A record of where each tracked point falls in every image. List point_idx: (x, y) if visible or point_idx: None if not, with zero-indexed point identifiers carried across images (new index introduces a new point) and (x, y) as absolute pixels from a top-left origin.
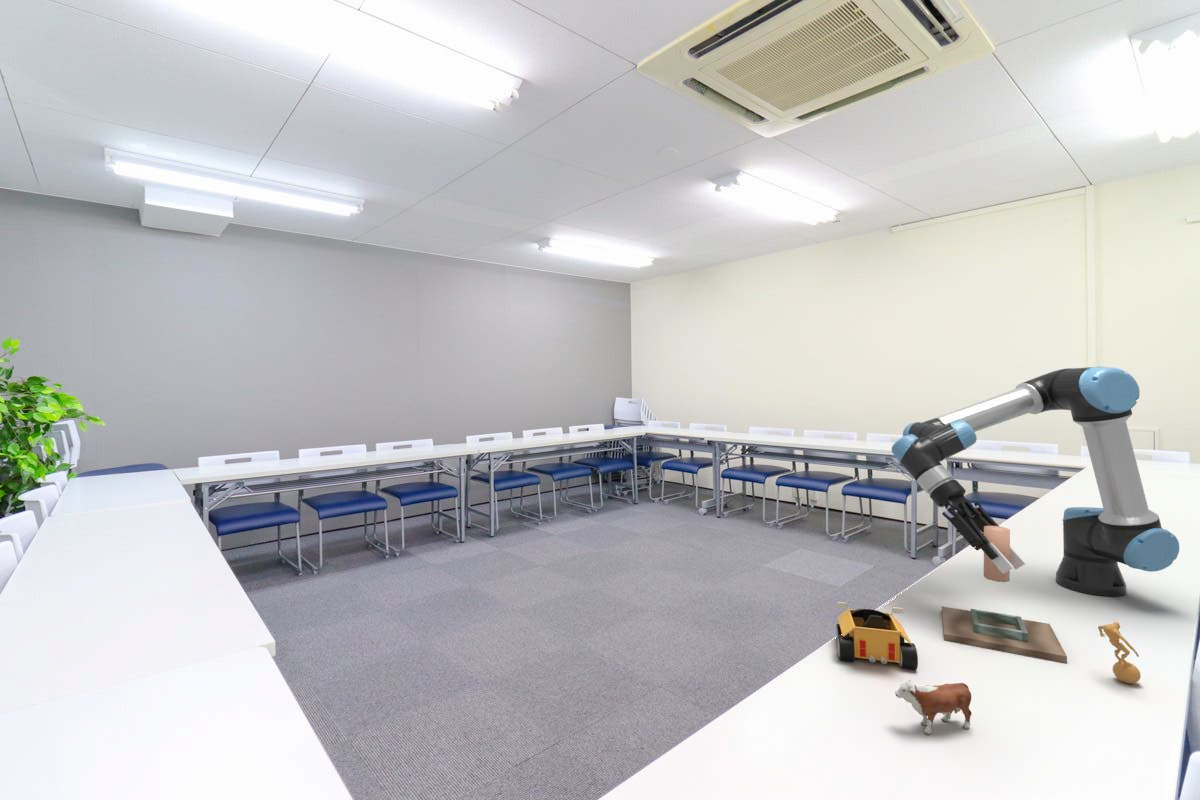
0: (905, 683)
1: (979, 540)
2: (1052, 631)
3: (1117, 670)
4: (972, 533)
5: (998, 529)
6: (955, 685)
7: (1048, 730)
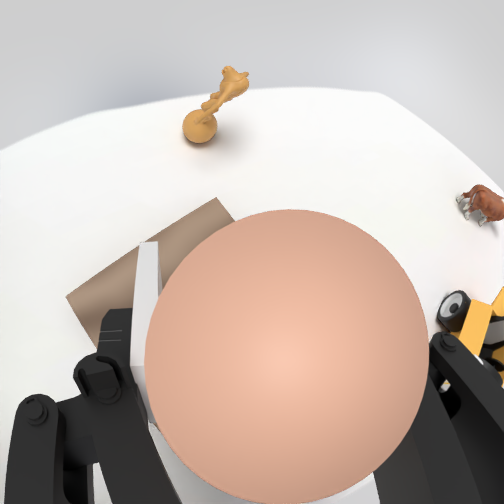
0: None
1: (452, 340)
2: (105, 271)
3: (215, 129)
4: (492, 379)
5: (346, 313)
6: (490, 191)
7: (401, 155)
